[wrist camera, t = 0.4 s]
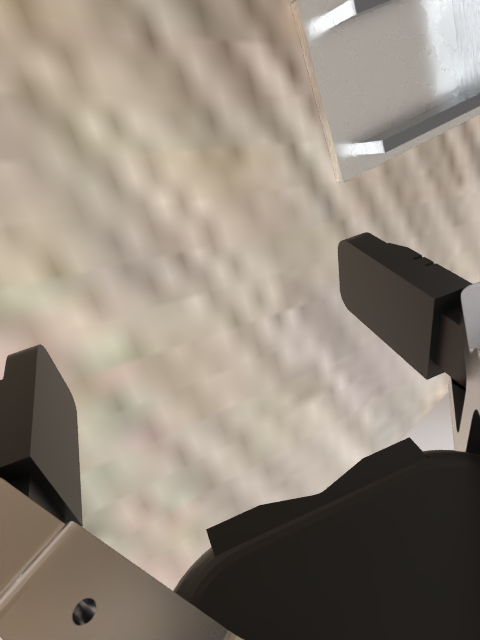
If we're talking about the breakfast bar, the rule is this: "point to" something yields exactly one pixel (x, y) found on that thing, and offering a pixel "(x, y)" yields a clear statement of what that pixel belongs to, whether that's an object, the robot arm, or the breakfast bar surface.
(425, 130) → the clip bracket
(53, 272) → the breakfast bar surface
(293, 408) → the breakfast bar surface
